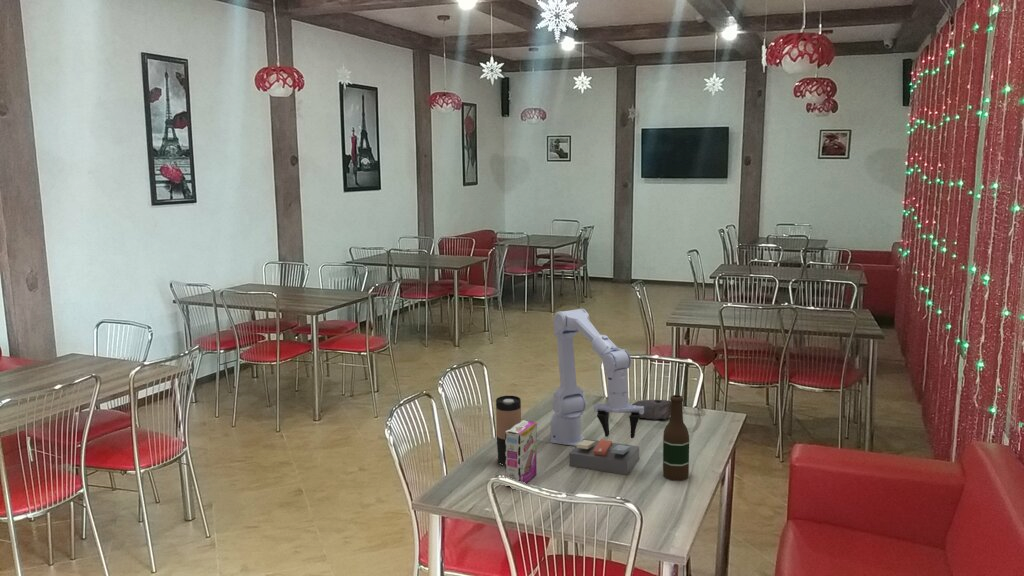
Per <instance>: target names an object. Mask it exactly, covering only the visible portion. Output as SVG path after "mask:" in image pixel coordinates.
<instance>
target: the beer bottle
mask: <svg viewBox="0 0 1024 576" xmlns="http://www.w3.org/2000/svg"><path fill="white" fill-rule="evenodd" d="M670 401H671V413H670V416H669V421H668V423H667V424H666V425H665V427H664V430H663V438H662V441H663V443H662V474H663V477H664V478H665V477H666V479H668V480H670V481H683V479H684V480H686V479H688V478H689V472H690V469H689V468H690V435H689V434H690V433H689V430H688V428H687V427H688V426H686V424H685V423H684V415H683V414H684V412H683V402H684V397H683V395H680V394H673V395H671V396H670Z"/></svg>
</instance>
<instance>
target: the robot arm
mask: <svg viewBox="0 0 1024 576" xmlns="http://www.w3.org/2000/svg"><path fill="white" fill-rule="evenodd" d="M552 320H553V323H552V324H553V332H554V336H556V345H557V358H558V360H557V361H558V370H559V382H560V386H559V387H558V388H557V389H556V390H555V391H554V392H553V401H552V409H553V412H554V413H553V414H552V416H551V419H550V440H549V443H552V444H558V445H565V446H566V445H567V446H573V447H576V446H577V444H578V443H580V442H581V441H582V440H583V439H586V437H585V436H583V435H582V433H581V429H582V427H581V426H582V425H581V424H582V423H581V421H582V419H581V417H582V416H583V413H584V411H585V410H586V408H587V399H586V397H585V394H584V390H583V388H581V387H580V386H578V385H577V373H576V371H577V370H576V361H575V350H574V337H575V336H576V335H577V333H579V332H580V333H581V334H582V335H583V336H584V337H585V338H586V339H587V340H588V341H590V343H591V348H592V350H593V351H594V352H595V353H596V355H598V357H599V358H600V359H601V360H602V366H603V368H604V371H605V375H606V377H607V392H608V403H597V404H596V403H595V404H594V405H593V412H594V413H597V415H596V417H597V419H598V420H599V422H600V424H601V426H602V429H603V433H604V436H605V437H606V438H608V437H609V436H610V426H609V416H610V415H609V414H610V413H618V414H619V413H622V414H629V417H628V418H629V423H630V425H629V426H630V439H635V436H636V434H635V433H636V429H637V426H638V423H639V420H640V418H639V417H640V415H641V414H643V413H644V406H636V405H632V404H630V403H629V387H628V386H629V384H628V369H630V367H631V363H632V358H631V355H630V353H629V352H628V350H627V349H624V348H623V349H622V348H620V347H618V346H617V345H616V344H615V343H614V342H613V341H612V340H611V339H610V338H609V337H608V335H607V334H601V333H600V332H599V331H598V330H597V328H596V327H595V326H594V325H593V323H592V322H591V320H590V314H589V313H588V312H587V310H586V309H584V308H583V307H581V308H578V309H569V310H564V311H561V310H560V311H559V310H558V311H557V312H555V314H554V316H553V318H552Z"/></svg>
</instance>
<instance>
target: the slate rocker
mask: <svg viewBox="0 0 1024 576" xmlns="http://www.w3.org/2000/svg"><path fill="white" fill-rule="evenodd" d="M629 450H630V446H623V445H618V446H616V447H615V448H613V449H612V453H616V454H625V453H626V452H628V451H629Z"/></svg>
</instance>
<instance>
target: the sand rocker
mask: <svg viewBox="0 0 1024 576" xmlns="http://www.w3.org/2000/svg"><path fill="white" fill-rule="evenodd" d="M594 445H595V441H589V440H583V441H581V442H580V443H578V444H577V446H575V447H576V448H583V449H589V448H591V447H592V446H594Z"/></svg>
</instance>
